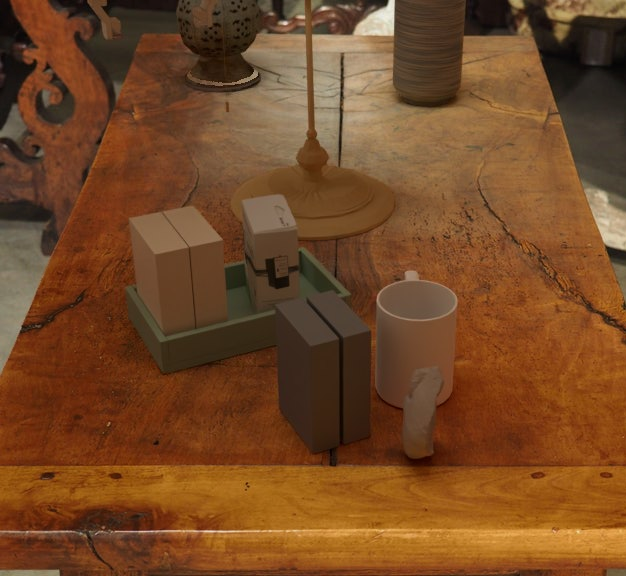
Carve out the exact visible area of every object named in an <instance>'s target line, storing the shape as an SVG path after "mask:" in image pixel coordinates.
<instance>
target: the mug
mask: <svg viewBox="0 0 626 576" xmlns="http://www.w3.org/2000/svg"><path fill="white" fill-rule="evenodd" d="M458 304H459V298H458V297H457V295H456V293H455V292H454V291H453V290H452V289H451V288H449V287H447V286H445V285H444V284H441V283H439V282H436V281H430V280H427V279H426V280H425V279H420V275H419V272H418V271H417V270H406V271H404V273H403V280H400V281H399V280H398V281H395V282H392V283H391V284H388V285H386V286H385V287H383V288H382V289H380V290H379V292H378V294H377V296H376V308H375V309H376V310H375V312H376V313H375V314H376V315H375V316H376V317H375V369H374V370H375V371H374V373H375V375H374V383H375V384H374V386H375V387H374V388H375V391H376V393H377V394H378V396H379V397H380V399H382V400H383V401H384V402H385V403H387V405H390V406H393V407H395V408H399V409H403V401H404V397H406V396H407V395H409V385H410V381H411V378H412V376H413V373H414V371H415V370H416V369H423V368H427V367H433V366H437V367H439V368H440V370H441V372H442V376H443V378H444V386H443V388H442V391H441V392H440V394H439V396H438V397H437V405H436V407H438V406H440V405H442V404H443V403H445V402H446V401H447V400H448V399H449V398H450V397H451V395H452V392H453V390H454V389H453V388H454V372H455V358H456V357H455V355H456V340H457V338H456V337H457V321H458Z"/></svg>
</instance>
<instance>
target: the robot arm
mask: <svg viewBox="0 0 626 576" xmlns="http://www.w3.org/2000/svg"><path fill="white" fill-rule="evenodd" d="M107 1H108V0H87V1H86V2H87V4H88V5H89V7H90V8H91V9H92V10H93V12H94V14H95V15H97V17H98V19H99V20H100V21H101V29H102V35H103V38H104V39H105V40H106V41H112V40H118V39H122V37H123V33H122V31H121V29H122V25H121V24H122V23H121V21H120V19H118V18H117V16H113V17H109V15H108V14H107V12H106V11H105V10H104V8H103V7H106V6H107V5H108V2H107ZM217 1H218V0H202V2H201V5H200V7H196V8H192V9H193V15H194V18H193V22H194V25H195V26H196V27H197V28H206V27H212V10H213V9H214V7H215V5H216V3H217Z"/></svg>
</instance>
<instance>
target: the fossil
mask: <svg viewBox="0 0 626 576" xmlns="http://www.w3.org/2000/svg"><path fill="white" fill-rule="evenodd" d="M443 386H444V378H443V376H442V372H441V370H440V368H439V367H437V366H433V367H427V368H423V369H416V370H415V371H414V373H413V376H412V378H411V381H410V385H409V395H407V396H406V397H404V401H403V408H402V413H403V420H402V427H401V441H402V446H403V452H404V453H405V455H406V456H407V457H408V458H409V459H412V460H419V459H422V458H425V457H431V456H433V455H434V454H435V451H434V434H435V430H436V426H437V406H436V405H437V397H438V396H439V394H440V392H441V391H442V388H443Z"/></svg>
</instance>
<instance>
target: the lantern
mask: <svg viewBox="0 0 626 576" xmlns="http://www.w3.org/2000/svg"><path fill="white" fill-rule="evenodd" d="M201 2H202V0H178V2H177V7H176V11H175V13H176V14H175V15H176V25H177V29H178V32H179V35H180V37H181V40H182V43H183V46H185V47H186V48H187V49H188V50H189V51H191V52H192V54H195V55H197V56H198V60H197V61H196V63H195V64H194V65H193V67H192V68H191V69H190V70H191V72H190V74H191V75H192V77H195V78H197V79H200V80H206V81H212V82H213V81H214V82H218V83H219V82H222V83H232V82H237V81H239V80H241V79H244V78H247V77H250V76H251V75H252V74H253V72H254V69H253V68H254V67H253V65H251V64H250V63H249V62H248V61H247V60H246V59H245V58H244V56H243V55H242V54H243V53H245V52H247V50H248V49H249V48H250V47H251V46H252V44H253V43H254V42H255V40H256V38H257V35H258V32H259V29H260V25H261V15H260V14H261V12H260V8H259V6H258V3H257V1H256V0H218V1H217V3H216V5H215V7H214V9H213V10H212V27H206V28H197V27H196V26H195V25H194V22H193V18H194V15H193V9H192V8H196V7H200V5H201ZM221 8H222V10H221ZM222 24H223V27H222ZM223 41H224V44H223ZM224 57H225V62H224ZM187 74H188V72H187V73H186V74H185V75H184V79H183V80H184V84H185V85H186V86H187V87H189V88H192V89H194V90H197V91H202V92H210V93H226V91H227V93H229V92H230V93H231V92H238V91H239V92H240V91H244V90H247V89H250V88H253V87H255V86H257V85H258V84H259V83H260V82H261V81H262V75H261V73H260V72H259V71H258V76H257V77H256V78H254V79H252V80H250V81H248V82H245V83H241V84H235V85H223V86H215V85H205V84H200V83H196V82H194V81H192V80H190V79H189V78H188V77H187ZM225 74H226V79H225Z"/></svg>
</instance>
